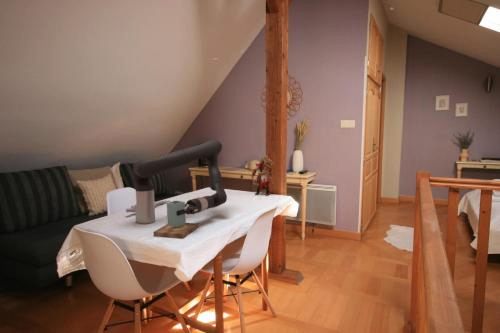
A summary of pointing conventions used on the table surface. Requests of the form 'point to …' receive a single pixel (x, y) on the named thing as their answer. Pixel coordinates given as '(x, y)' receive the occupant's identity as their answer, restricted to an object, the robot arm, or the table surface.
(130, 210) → the adjustable rod
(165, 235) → the peg board
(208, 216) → the table surface
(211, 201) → the robot arm
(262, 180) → the figurine
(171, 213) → the collar
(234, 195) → the table surface
